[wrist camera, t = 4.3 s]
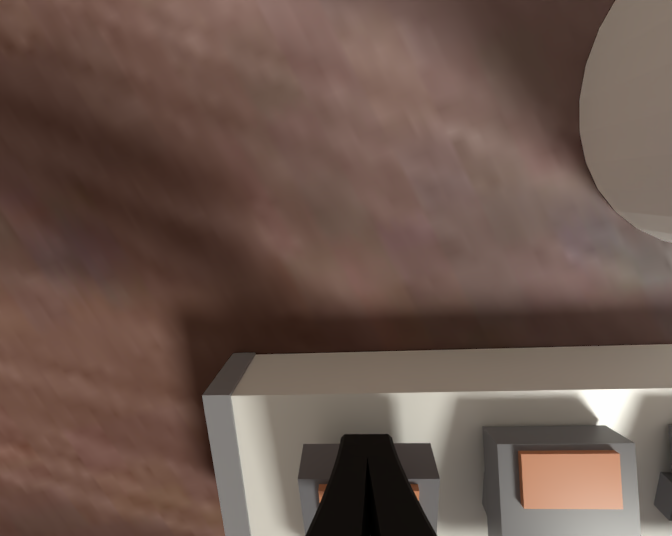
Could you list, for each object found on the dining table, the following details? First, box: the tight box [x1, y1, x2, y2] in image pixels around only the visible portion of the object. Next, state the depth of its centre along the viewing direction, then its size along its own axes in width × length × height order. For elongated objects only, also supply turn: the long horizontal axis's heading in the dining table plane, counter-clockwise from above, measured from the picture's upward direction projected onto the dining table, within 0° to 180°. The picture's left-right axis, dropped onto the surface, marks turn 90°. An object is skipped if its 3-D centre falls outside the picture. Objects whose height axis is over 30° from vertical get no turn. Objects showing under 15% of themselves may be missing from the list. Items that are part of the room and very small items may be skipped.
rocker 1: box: [298, 443, 440, 536], centre depth 11 cm, size 6×4×1 cm, turn 3°
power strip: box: [202, 344, 672, 536], centre depth 13 cm, size 8×29×4 cm, turn 93°
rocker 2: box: [482, 425, 641, 536], centre depth 10 cm, size 6×4×1 cm, turn 3°
